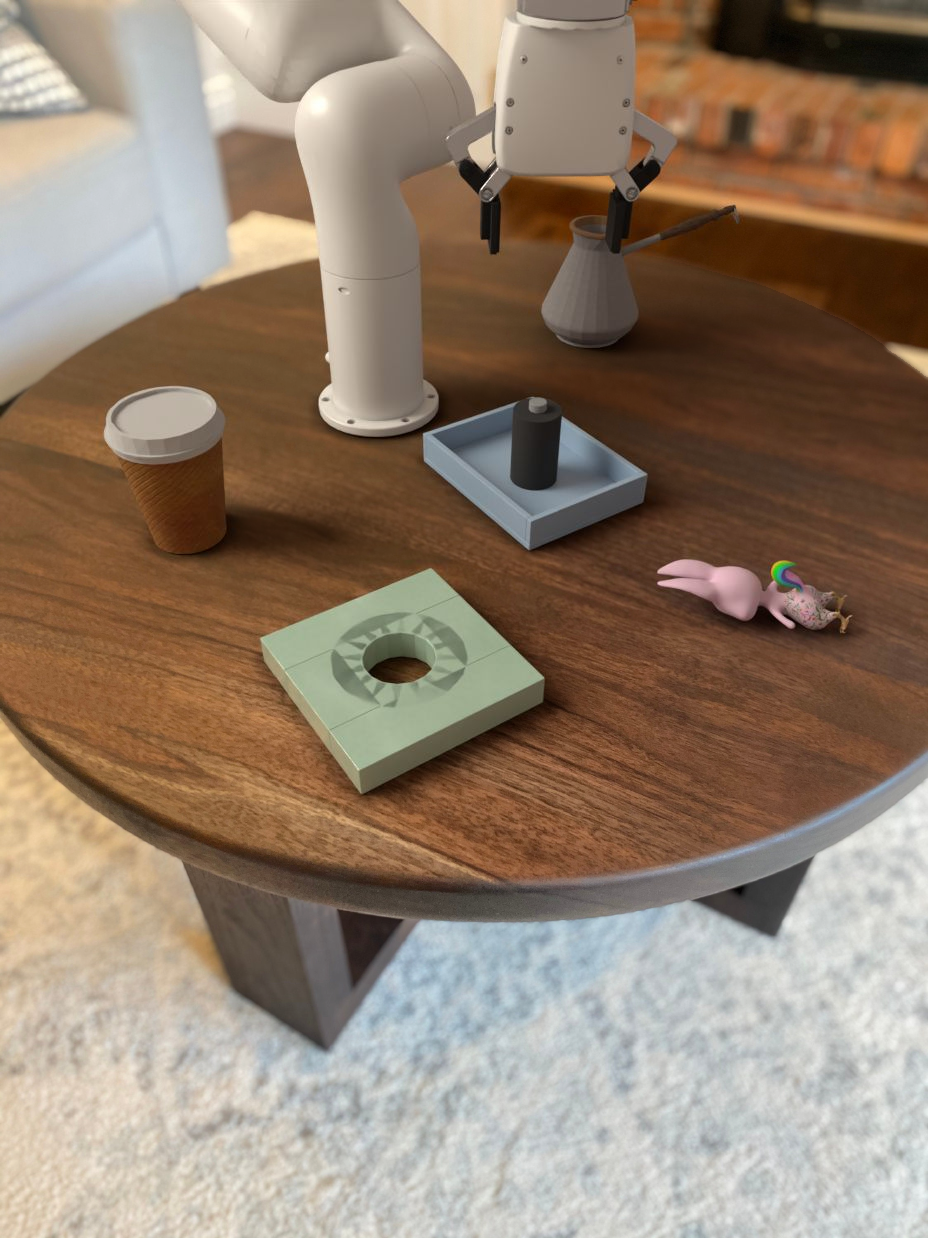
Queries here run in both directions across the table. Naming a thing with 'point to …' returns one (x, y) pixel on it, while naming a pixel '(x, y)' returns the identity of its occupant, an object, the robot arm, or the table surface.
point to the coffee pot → (601, 283)
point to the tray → (533, 517)
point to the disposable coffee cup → (173, 463)
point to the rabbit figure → (755, 592)
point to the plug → (535, 443)
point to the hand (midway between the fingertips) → (552, 247)
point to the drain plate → (408, 712)
